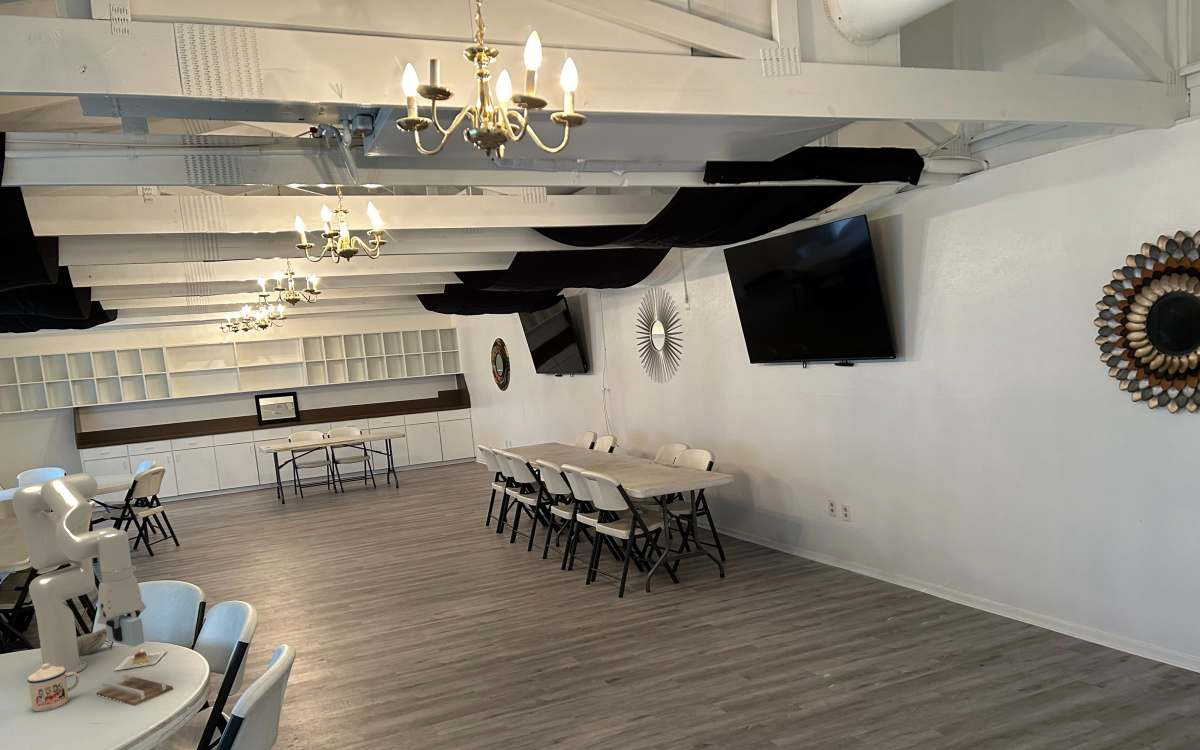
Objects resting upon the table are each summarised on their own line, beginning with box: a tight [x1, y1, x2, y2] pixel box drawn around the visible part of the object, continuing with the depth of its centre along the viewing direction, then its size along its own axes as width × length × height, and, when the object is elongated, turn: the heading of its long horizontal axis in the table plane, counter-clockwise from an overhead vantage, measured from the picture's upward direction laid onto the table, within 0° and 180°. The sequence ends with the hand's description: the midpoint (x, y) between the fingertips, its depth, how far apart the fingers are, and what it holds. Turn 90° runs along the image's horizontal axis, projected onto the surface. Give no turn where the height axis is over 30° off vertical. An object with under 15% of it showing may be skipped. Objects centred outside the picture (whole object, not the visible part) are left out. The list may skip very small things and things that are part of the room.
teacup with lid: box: [27, 663, 80, 712], centre depth 234 cm, size 12×9×12 cm
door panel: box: [105, 614, 145, 648], centre depth 235 cm, size 14×3×7 cm, turn 57°
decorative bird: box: [77, 628, 114, 656], centre depth 276 cm, size 5×16×8 cm, turn 116°
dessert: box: [113, 648, 168, 672], centre depth 262 cm, size 12×12×5 cm
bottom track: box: [95, 672, 174, 706], centre depth 237 cm, size 20×11×3 cm, turn 58°
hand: (125, 637), depth 236 cm, fingers closed on door panel, 3 cm apart
